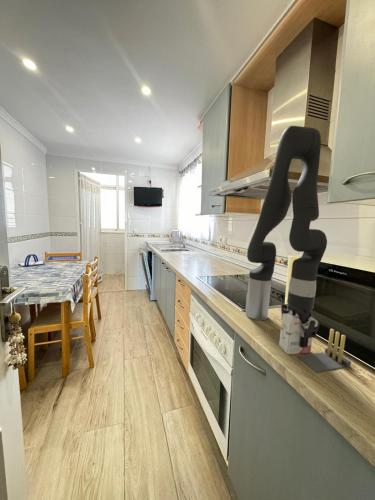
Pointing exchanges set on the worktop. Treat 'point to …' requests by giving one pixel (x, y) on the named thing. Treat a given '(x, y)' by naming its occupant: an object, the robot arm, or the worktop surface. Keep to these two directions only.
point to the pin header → (333, 353)
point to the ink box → (292, 335)
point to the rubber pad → (320, 362)
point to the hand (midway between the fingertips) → (295, 341)
